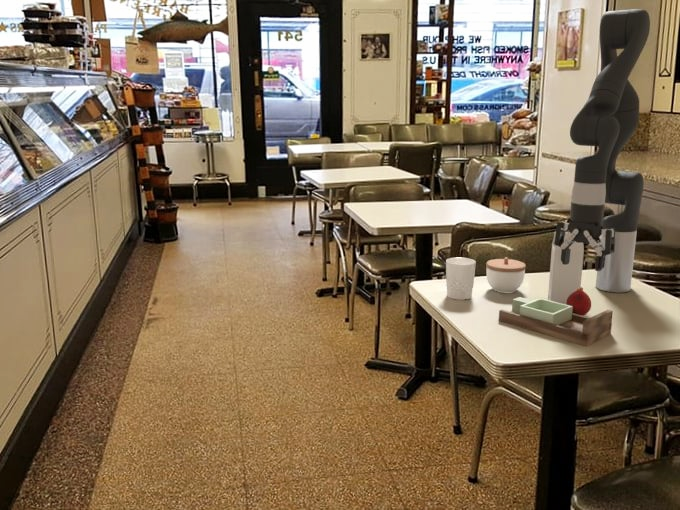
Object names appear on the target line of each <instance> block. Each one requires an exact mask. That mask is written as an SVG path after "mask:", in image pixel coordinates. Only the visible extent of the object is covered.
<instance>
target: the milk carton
mask: <svg viewBox="0 0 680 510" xmlns="http://www.w3.org/2000/svg"><path fill="white" fill-rule="evenodd" d="M553 234H554V236H553V239H552V243H551V253H550V266H549V267H550V268H549V280H548V294H547V296H548V297H547V298H548V300H549V301H553V302H557V303H561V304H565V305H566V302H567V299H568V297H569V296H570V295H571V294H572V293H573V292H575V291H577V289H578V288H579V287H582V276H583V275H582V273H583V265H584V263H583V262H584V254H585V253H584V252H585V249H584V248H585V246H584V243H577V242H574V243H573V244H572V245H571V246H570V247H569V249H571V250H570V261H569V264H566V265H564V264H562V262H561V252H562V249H561V247H559V246H556V245H555V244H554V242H555V235H556V231H554V233H553ZM570 234H571V233H570V231H569V232H566V231H565V237H564V242H565V240H566V239H567V238H568V236H569V235H570Z"/></svg>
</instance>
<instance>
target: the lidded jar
mask: <svg viewBox="0 0 680 510" xmlns="http://www.w3.org/2000/svg"><path fill="white" fill-rule="evenodd" d="M485 264H486V265H485V266H486V270H485V271H486V272H485V273H486V280H487V283H488V284H489V286H490V287H491V289H494V290H495V291H494V290H493V291H494V292H496V291H498V292H497V293H499V292H513V293H515V292H516V291H517V290H518V289H519V288H520V287H521V286H522V284H523V282H524V279H525V274H526V269H527V268H526V267H527V266H526V263H525V262H523V261H520V260H516V259H512V258H510V259H509V257H504V258H495V259H490V260H487V262H486V263H485ZM514 291H515V292H514Z"/></svg>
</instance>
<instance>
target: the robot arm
mask: <svg viewBox="0 0 680 510" xmlns="http://www.w3.org/2000/svg"><path fill="white" fill-rule="evenodd" d="M650 28H651V18H650V15H649V12H648V11H647V10H646V9H642V8H634V9H632V8H631V9H620V10H609V11H606V12H604V13H603V15H602V17H601V19H600V24H599V48H600V49H599V51H600V61H601V71H600V72H599V74H598V75H597V76H596V78H594V79H595V80H594V81H593V83H592V87H591V89H590V93H589V95H588V99H587V101H586V102H585V103H584V105H583V107H582V108H581V109H580V110H579V112H578V113H577V114H576V116H575V117H574V119H573V121H572V123H571V125H570V129H569V136H570V139H571V141H572V143H573V144H574V145H576V146H581V147H582V146H583V147H584V146H585V147H586V146H587V147H598V150H597V151H596V153H595V154H592V155H585V156H581V157H578V158H576V161H575V168H574V179H573V180H574V181H573V185H572V190H571V200H570V211H569V222H567V221H565V220H563V221H558V222H557V224H556V230H555V232H556V235H555V242H554V244H555V245H556V246H559V247H561V249H562V252H561V262H562V264H564V265H566V264H569V261H570V250H571V249H569V247H570V246H571V245H572V244H573V243H574V242H577V243H583V245H584V244H585V245H590V246H591V248H592V249H593V250H594V251H595V254H596V257H595V267H594V268H595V269H594V270H595V271H596V276H595V277H596V279H595V288H596V289H598V290H601V291H604V292H608V293H619V294H621V293H627V292H630V291H631V285H632V277H633V269H634V261H635V249H636V241H637V231H638V225H639V224H638V223H639V219H640V210H641V205H642V204H641V203H642V198H643V193H644V184H645V183H644V182H645V180H644V176H643V174H642V173H641V172H637V171H627V170H616V164H617V159H618V156H619V155H620V153H621V152H622V150H623V148H624V147H625V145H626V144H627V143H628V142H629V140H630V138H632V136H633V135H634V133H635V131H637V129H638V126H639V123H640V122H639V121H640V98H639V95H638V93H637V91H636V89H635V87H634V86H633V84H632V83H631V82H630V81H629V77H630V76H631V73H632V71H633V69H634V68H635V65H636V64H637V61H639V58H640V55H641V54H642V52H643V50H644V48H645V46H646V44H647V40H648V37H649V35H650V31H651V29H650ZM618 50H622V51H621V52H620V53H619V55H618ZM606 204H610V205H617V206H618V205H619V206H624V210H623V211H621V212H619V213H617V214H611V215H608V216H605V215H604V214H605V205H606ZM567 230H568V231H569V232H570V233H571V234H570V235H569V236H568V238H567V239H566V240H565V242H564V237H565V232H566V231H567Z"/></svg>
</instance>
